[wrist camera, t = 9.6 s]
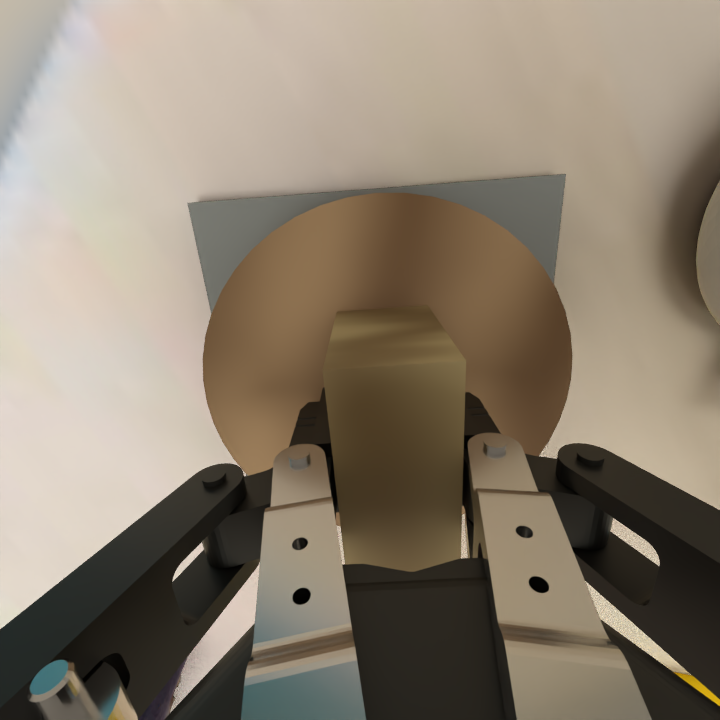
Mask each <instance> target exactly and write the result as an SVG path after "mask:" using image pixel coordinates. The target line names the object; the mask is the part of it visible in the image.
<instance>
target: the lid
mask: <svg viewBox="0 0 720 720" xmlns="http://www.w3.org/2000/svg"><path fill="white" fill-rule="evenodd" d="M571 369H572V346H571V334H570V330H569V325H568V321H567V317H566V313H565V309H564V307H563V304H562V302H561V299H560V297H559V295H558V292H557V290H556V288H555V286H554V284H553V283H552V281H551V279H550V278H549V276H548V274H547V272H546V271H545V269H544V267H543V266H542V265H541V264H540V263H539V261H538V260H537V259H536V258H535V257H534V255H533V254H532V253H531V252H530V251H529V249H528V248H527V247H526V246H525V245H524V244H522V243H521V242H520V241H519V240H518V239H517V238H516V237H515V236H513V235H512V234H511V233H510V232H509V231H508V230H506V229H505V228H503V227H502V226H500V225H499V224H497V223H496V222H494V221H492V220H491V219H489V218H488V217H486V216H485V215H482V214H480V213H478V212H476V211H474V210H471V209H469V208H467V207H465V206H463V205H460V204H457V203H454V202H450V201H447V200H443V199H440V198H436V197H433V196H425V195H418V194H411V193H372V194H365V195H359V196H352V197H347V198H343V199H340V200H337V201H333V202H330V203H327V204H323V205H320V206H318V207H316V208H314V209H311V210H309V211H307V212H305V213H303V214H301V215H298V216H296V217H294V218H293V219H291V220H290V221H288V222H287V223H285V224H284V225H282V226H280V227H279V228H277V229H276V230H274V231H273V232H271V233H270V234H269V235H268V236H267V237H266V238H265V239H263V240H262V241H261V242H260V243H259V244H258V245H257V246H255V247H254V248H253V249H252V250H251V251H250V252H249V254H248V255H247V256H246V257H245V258H244V259H243V261H242V262H241V263H240V264H239V265H238V266H237V268H236V269H235V270H234V272H233V273H232V275H231V276H230V278H229V280H228V281H227V283H226V284H225V286H224V288H223V289H222V291H221V293H220V295H219V298H218V300H217V302H216V305H215V307H214V309H213V311H212V314H211V318H210V321H209V325H208V329H207V332H206V336H205V345H204V353H203V381H204V387H205V393H206V399H207V404H208V407H209V410H210V413H211V416H212V419H213V422H214V425H215V427H216V429H217V431H218V433H219V435H220V437H221V439H222V441H223V443H224V445H225V446H226V448H227V449H228V451H229V452H230V454H231V455H232V457H233V459H234V460H235V461H236V462H237V463H238V465H239V466H240V467H241V468H242V469H243V471H244V472H245V473H246V474H247V475H248V476H249V475H252V474H256V473H260V472H263V471H266V470H268V469H271V468H272V467H273V462H274V459H275V457H276V456H277V455H278V454H279V453H280V452H281V451H282V450H284V449H286V448H288V447H289V445H290V442H291V438H292V435H293V432H294V428H295V427H296V426H295V425H296V422H297V420H298V415H299V412H300V410H301V409H302V408H303V407H304V406H305V405H306V404H307V403H308V402H318V401H320V398H321V393H322V389H323V387H325V396H326V404H327V413H328V421H329V430H330V439H331V447H332V456H333V464H334V473H335V481H336V490H337V498H338V507H339V512H336V525H337V526H341V532H342V541H343V550H344V558H345V564H369V565H374V566H380V567H386V568H391V569H397V570H402V571H409V572H414V571H419V570H422V569H425V568H429V567H432V566H436V565H439V564H442V563H446V562H449V561H453V560H456V559H461V525H462V514H465V509H464V506H462V489H463V454H464V419H465V392H470V393H471V394H473V395H474V396H476V397H477V398H479V399H480V400H481V402H482V404H483V405H484V408H485V409H486V410H487V412H488V413H489V415H490V417H491V418H492V420H493V421H494V423H495V425H496V426H497V428H498V430H499V431H500V433H501V434H503V435H506V436H509V437H511V438H513V439H515V440H516V441H518V442H519V443H520V445H521V446H522V448H523V451H524V453H526V454H529V455H533V456H539V454H540V453H541V451H542V450H543V448H544V447H545V446H546V444H547V443H548V441H549V440H550V438H551V436H552V434H553V432H554V430H555V428H556V426H557V424H558V422H559V420H560V417H561V414H562V411H563V408H564V406H565V403H566V400H567V395H568V390H569V385H570V381H571Z"/></svg>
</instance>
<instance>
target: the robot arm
mask: <svg viewBox="0 0 720 720" xmlns="http://www.w3.org/2000/svg"><path fill="white" fill-rule="evenodd" d="M295 426H296V427H295V428H294V432H293V435H292V438H291V442H290V445H289V447H288V448H286V449H284V450H282V451H281V452H280V453H279V454H278V455H277V456H276V457H275V459H274V462H273V467H272V468H271V469H268V470H266V471H263V472H260V473H256V474H252V475H249V476H245V477H244V475H243V471H242V469H241V468H240V467H239V466H237V465H234V464H226V463H225V464H217V465H213V466H210V467H207V468H205V469H203V470H201V471H199V472H198V473H196V474H195V475H194V476H192V477H191V478H190V479H189V480H187V481H186V482H185V483H184V484H182V485H181V486H180V487H179V488H177V489H176V490H175V491H174V492H172V493H171V494H170V495H168V496H167V497H166V498H165V499H163V500H162V501H161V502H160V503H158V504H157V505H156V506H155V507H153V508H152V509H151V510H150V511H148V512H147V513H146V514H145V515H143V516H142V517H141V518H140V519H138V520H137V521H136V522H135V523H133V524H132V525H131V526H130V527H128V528H127V529H126V530H125V531H123V532H122V533H121V534H120V535H118V536H117V537H116V538H114V539H113V540H112V541H111V542H109V543H108V544H107V545H106V546H104V547H103V548H102V549H101V550H99V551H98V552H97V553H96V554H94V555H93V556H92V557H91V558H89V559H88V560H87V561H86V562H84V563H83V564H82V565H81V566H79V567H78V568H77V569H76V570H74V571H73V572H72V573H71V574H69V575H68V576H67V577H65V578H64V579H63V580H62V581H60V582H59V583H58V584H57V585H55V586H54V587H53V588H52V589H50V590H49V591H48V592H47V593H45V594H44V595H43V596H42V597H40V598H39V599H38V600H37V601H35V602H34V603H33V604H32V605H30V606H29V607H28V608H27V609H25V610H24V611H23V612H22V613H20V614H19V615H18V616H17V617H15V618H14V619H13V620H11V621H10V622H9V623H8V624H6V625H5V626H4V627H3V628H1V629H0V720H138V719H139V718H140V717H141V716H142V714H143V713H144V712H145V710H146V709H147V708H148V707H149V705H150V704H151V703H152V701H153V700H154V699H155V698H156V696H157V695H158V694H159V692H160V691H161V690H162V689H163V687H164V686H165V685H166V683H167V682H168V681H169V680H170V678H171V677H172V676H173V674H174V673H175V672H176V671H177V669H178V668H179V667H180V665H181V664H182V663H183V662H184V660H185V659H186V658H187V656H188V655H189V654H190V653H191V651H192V650H193V649H194V647H195V646H196V645H197V644H198V642H199V641H200V640H201V638H202V637H203V636H204V635H205V633H206V632H207V631H208V630H209V628H210V627H211V626H212V624H213V623H214V622H215V621H216V619H217V618H218V617H219V615H220V614H221V613H222V612H223V610H224V609H225V608H226V606H227V605H228V604H229V603H230V601H231V600H232V599H233V597H234V596H235V595H236V594H237V592H238V591H239V590H240V588H241V587H242V586H243V585H244V583H245V582H246V581H247V579H248V578H249V577H250V576H251V574H252V573H253V572H254V570H255V569H256V568H257V566H258V564H259V562H260V568H259V580H258V592H257V604H256V616H255V624H254V625H253V626H252V627H251V628H250V629H249V630H248V631H247V632H246V633H245V634H244V635H243V636H242V637H241V639H240V640H239V641H238V642H237V643H236V644H235V645H234V646H233V647H232V648H231V649H230V650H229V651H228V652H227V653H226V654H225V655H224V657H223V658H222V659H221V660H220V661H219V662H218V663H217V664H216V665H215V666H214V667H213V668H212V669H211V670H210V671H209V672H208V674H207V675H206V676H205V677H204V678H203V679H202V680H201V681H200V682H199V683H198V684H197V685H196V686H195V687H194V688H193V689H192V691H191V692H190V693H189V694H188V695H187V696H186V697H185V698H184V699H183V700H182V701H181V702H180V703H179V704H178V705H177V706H176V708H175V709H174V710H173V711H172V712H171V713H170V714H169V715H168V716H167V717H166V718H165V719H164V720H720V706H719V705H717V704H716V703H715V702H713V701H712V700H711V699H709V698H708V697H706V696H705V695H704V694H702V693H701V692H700V691H698V690H697V689H695V688H694V687H693V686H691V685H690V684H689V683H687V682H686V681H684V680H683V679H682V678H680V677H679V676H678V675H676V674H675V673H673V672H672V671H671V670H669V669H668V668H667V667H665V666H664V665H663V664H661V663H660V662H658V661H657V660H656V659H654V658H653V657H652V656H650V655H649V654H647V653H646V652H645V651H643V650H642V649H641V648H639V647H638V646H636V645H635V644H634V643H632V642H631V641H630V640H628V639H627V638H625V637H624V636H623V635H621V634H620V633H619V632H617V631H616V630H614V629H613V628H612V627H610V626H609V625H608V624H606V623H605V622H603V621H602V620H601V619H600V617H599V615H598V612H597V610H596V607H595V605H594V602H593V600H592V597H591V595H590V592H589V590H588V587H587V585H586V582H587V583H589V584H590V585H591V586H592V587H593V588H594V589H595V590H596V591H598V592H599V593H600V594H601V595H602V596H603V597H604V598H605V599H607V600H608V601H609V602H610V603H611V604H612V605H613V606H615V607H616V608H617V609H618V610H619V611H620V612H621V613H622V614H624V615H625V616H626V617H627V618H628V619H629V620H630V621H631V622H633V623H634V624H635V625H636V626H637V627H638V628H639V629H641V630H642V631H643V632H644V633H645V634H646V635H647V636H648V637H650V638H651V639H652V640H653V641H654V642H655V643H656V644H657V645H659V646H660V647H661V648H662V649H663V650H664V651H665V652H667V653H668V654H669V655H670V656H671V657H672V658H673V659H674V660H676V661H677V662H678V663H679V664H680V665H681V666H682V667H683V668H685V669H686V670H687V671H688V672H689V673H690V674H691V675H693V676H694V677H695V678H696V679H697V680H698V681H699V682H700V683H702V684H703V685H704V686H705V687H706V688H707V689H708V690H710V691H711V692H712V693H713V694H714V695H715V696H716V697H717V698H719V699H720V510H718V509H716V508H714V507H713V506H711V505H709V504H707V503H705V502H703V501H701V500H699V499H698V498H696V497H694V496H692V495H690V494H688V493H686V492H684V491H683V490H681V489H679V488H677V487H675V486H673V485H671V484H669V483H668V482H666V481H664V480H662V479H660V478H658V477H656V476H654V475H653V474H651V473H649V472H647V471H645V470H643V469H641V468H639V467H638V466H636V465H634V464H632V463H630V462H628V461H626V460H624V459H623V458H621V457H619V456H617V455H615V454H613V453H611V452H609V451H607V450H605V449H603V448H600V447H597V446H594V445H589V444H580V443H576V444H568V445H565V446H563V447H562V448H560V450H559V451H558V457H557V459H554V458H546V457H539V456H533V455H529V454H526V453H524V451H523V448H522V446H521V445H520V443H519V442H518V441H516V440H515V439H513V438H511V437H509V436H506V435H503V434H501V433H500V431H499V430H498V428H497V426H496V425H495V423H494V421H493V420H492V418H491V417H490V415H489V413H488V412H487V410H486V409H485V408H484V405H483V404H482V402H481V400H480V399H479V398H477V397H476V396H474V395H473V394H471V393H470V392H465V419H464V454H463V489H462V506H464V509H465V532H466V542H467V553H468V558H463V559H456V560H453V561H449V562H446V563H442V564H439V565H436V566H432V567H429V568H425V569H422V570H419V571H414V572H409V571H402V570H397V569H391V568H386V567H380V566H374V565H369V564H345V565H342V560H341V553H340V546H339V540H338V533H337V526H336V512H339V507H338V498H337V490H336V481H335V473H334V464H333V456H332V447H331V439H330V430H329V421H328V413H327V404H326V396H325V387H323V389H322V393H321V398H320V401H318V402H308V403H307V404H306V405H305V406H304V407H303V408H302V409H301V410H300V412H299V415H298V420H297V422H296V425H295ZM613 518H614V519H616V520H617V521H619V522H620V523H622V524H623V525H625V526H626V527H627V528H629V529H630V530H632V531H633V532H635V533H636V534H638V535H639V536H641V537H642V538H644V539H645V540H646V541H648V542H649V543H650V544H651V545H652V547H653V548H654V549H655V550H656V552H657V554H658V556H659V560H660V566H658V565H656V564H655V563H653V562H652V561H651V560H649V559H648V558H646V557H645V556H644V555H642V554H641V553H640V552H638V551H637V550H635V549H634V548H633V547H631V546H630V545H628V544H627V543H626V542H624V541H623V540H621V539H620V538H619V537H617V536H616V535H614V534H613V533H612V532H610V530H611V525H612V521H613ZM201 542H202V544H203V547H204V550H203V551H202V552H201V553H200V554H199V555H198V556H197V557H196V558H195V560H194V561H193V562H192V563H191V564H190V565H189V566H188V567H187V568H186V569H185V570H184V571H183V572H182V573H181V574H180V575H179V576H178V577H177V578H176V579H175V580H174V581H173V582H172V579H173V576H174V573H175V571H176V569H177V568H178V566H179V565H180V563H181V562H182V561H183V560H184V559H185V558H186V557H187V556H188V555H189V554H190V553H191V552H192V551H193V550H194V549H195V548H196V547H197V546H198V545H199V544H200V543H201ZM585 581H586V582H585Z"/></svg>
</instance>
